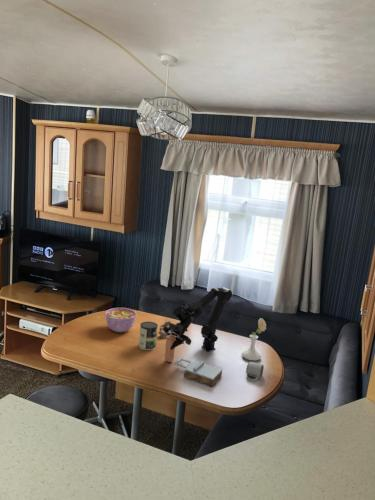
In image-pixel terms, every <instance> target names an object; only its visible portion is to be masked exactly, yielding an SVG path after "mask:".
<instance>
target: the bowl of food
mask: <svg viewBox="0 0 375 500" xmlns="http://www.w3.org/2000/svg"><path fill="white" fill-rule="evenodd" d="M104 315H105V319H106V324H107V326H108V328H109V329H110V330H111V331H113V332H116V333H125V332H127V331H130V330H131V329H132V328H133V326H134V323H135V320H136V317H137V312H136V311H135V310H133V309H131V308H128V307H113V308H109V309H107V310H105V314H104Z"/></svg>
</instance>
